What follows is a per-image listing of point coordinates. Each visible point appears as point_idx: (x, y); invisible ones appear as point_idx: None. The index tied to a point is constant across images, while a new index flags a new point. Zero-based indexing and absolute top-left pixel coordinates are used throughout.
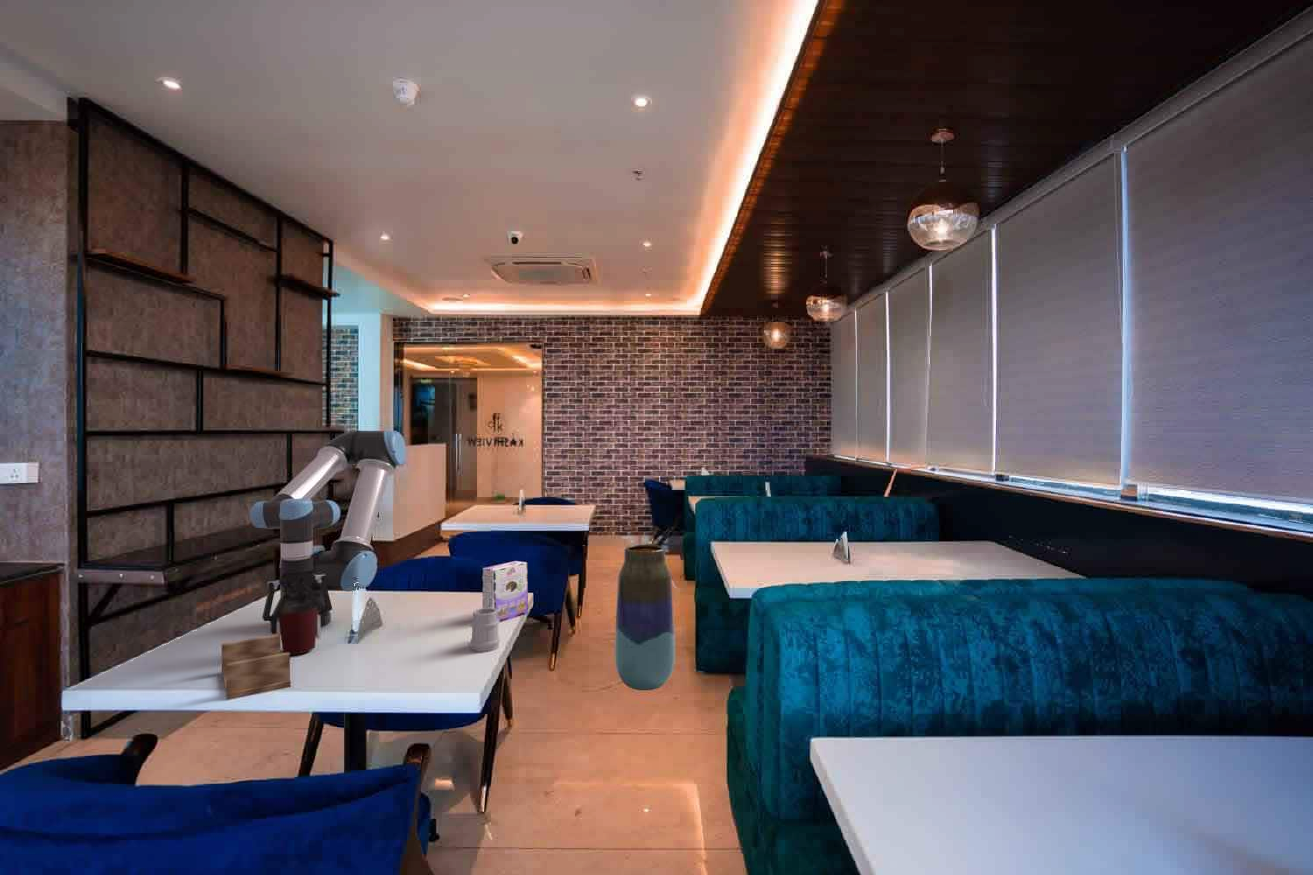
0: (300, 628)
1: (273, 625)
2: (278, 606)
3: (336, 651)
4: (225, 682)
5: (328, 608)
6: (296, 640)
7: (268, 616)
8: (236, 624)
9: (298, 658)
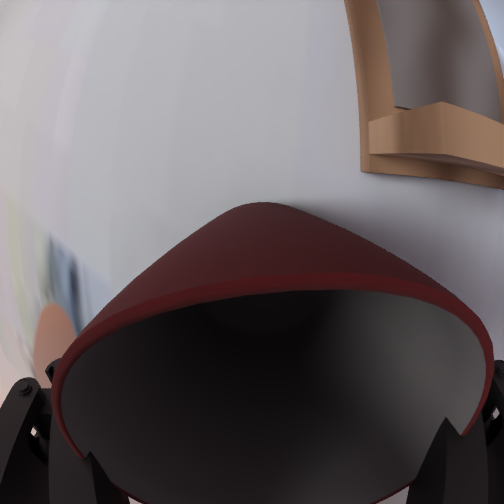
0: (274, 214)
1: None
2: (487, 466)
3: (114, 174)
4: (491, 38)
5: (29, 392)
6: (294, 209)
7: (502, 384)
8: None
9: (278, 164)
